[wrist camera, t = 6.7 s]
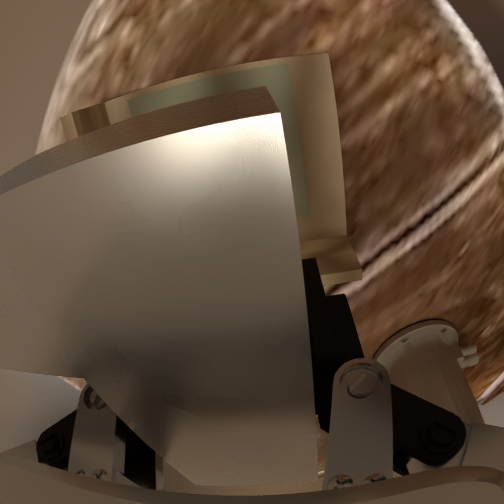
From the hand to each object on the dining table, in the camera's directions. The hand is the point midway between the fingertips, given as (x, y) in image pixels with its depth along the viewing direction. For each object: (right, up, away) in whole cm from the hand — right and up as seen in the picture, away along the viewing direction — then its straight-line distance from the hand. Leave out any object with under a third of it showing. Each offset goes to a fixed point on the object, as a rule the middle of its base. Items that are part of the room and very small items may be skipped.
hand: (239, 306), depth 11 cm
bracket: (-2, +1, 0) cm, 3 cm away
